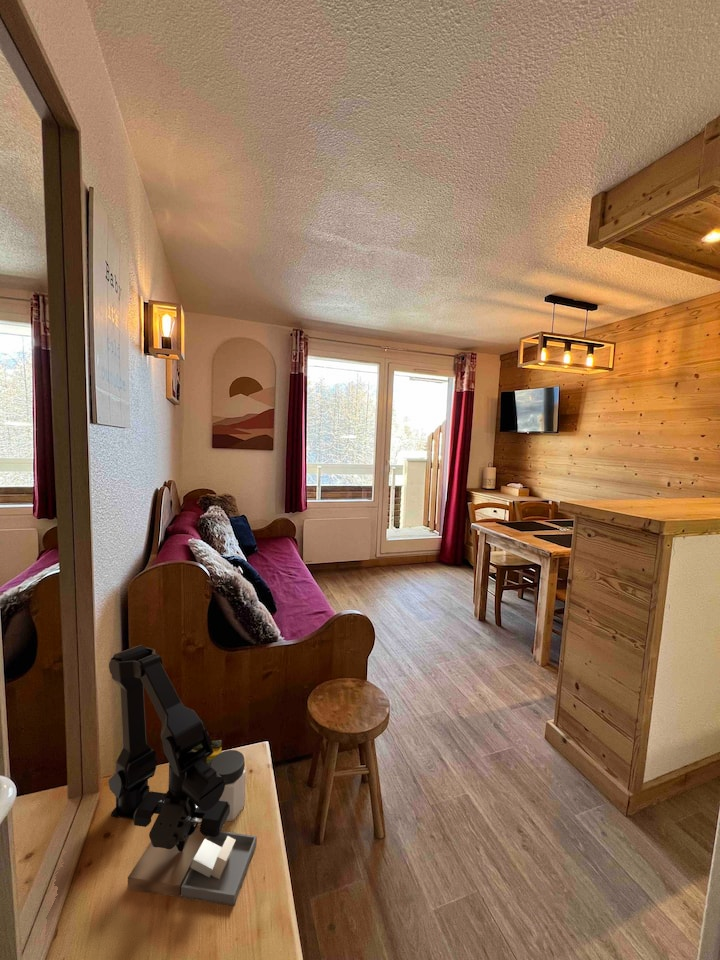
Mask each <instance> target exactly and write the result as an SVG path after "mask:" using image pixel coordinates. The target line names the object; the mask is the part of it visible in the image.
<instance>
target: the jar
mask: <svg viewBox="0 0 720 960" xmlns="http://www.w3.org/2000/svg"><path fill="white" fill-rule="evenodd" d="M245 763H246V762H245V757H244V754H243V753H242V752H241V751H238V750H234V749H229V750H223V751H222V752H221V753H219V754H218V755H217V756H215V757H214V758H213V760H212V761H211V764H210V767H211V768H213V769H214V770H215V771H216V772H217V774H219V775H220V776H221V777H222V778H223V779H224V782H225V788H224V791H223V794H222V796H221V798H220V799H219V801H225V802H229V804H230V813H229V815H228V817H227V819H226V821H225V822H232V821H235V819H236V818H237V816H238V815H239V814H240V813H241V811H242V810H243V808H244V807H245V805H246V780H247V779H246V778H247V770H246V768H245V767H246V765H245Z"/></svg>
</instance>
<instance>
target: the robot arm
mask: <svg viewBox="0 0 720 960" xmlns="http://www.w3.org/2000/svg"><path fill="white" fill-rule="evenodd" d="M108 669H109V673H110V674H111V679H112V681H114V682H115V683H116V684H117V686H119V688H120V701H121V702H120V703H121V720H122V721H121V723H122V724H121V725H122V739H123V741H122V742H123V743H122V744H123V748H122V750H121V752H120V753H119V755H118V758H117V760H116V763H115V767H116V768H115V773H114V774H113V775H112V776H111V777H110V778H109V779H108V786H109V790H110V792H112V793H113V795H114V796H115V808H114V809H113V810H112V811H111V812H110V816H111V817H117V818H122V819H129V820H133V825H134V826H137V827H144V828H147V827H148V826H149V825H150V824H151V823H152V817H153V815H154V814H155V815H156V814H157V817H156V818H155V821H154V823H153V825H152V826H151V829H150V831H149V834H148V837H149V839H150V842H151V843H152V845H153V847H156V848H157V847H160V848H166V849H172V848H173V847H174V846H175V845H176V846H177V849H178V851H181V852H182V851H183V850H184V848H185V845H186V843H187V840H188V838H189V835H192V834H193V833H194V831H195V829H196V828H197V827H200V832H201V833H202V834H203V835H204V836H211V837H216V836H218V835H219V834H220V832H221V831H222V830H223V827H224V825H225V824H226V822H227V821H226V819H227V817H228V815H229V813H230V804H229V802H225V801H219V799H220V798H221V796H222V794H223V791H224V788H225V782H224V779H223V778H222V777H221V776H220V775H219V774H217V772H216V771H215V770H214V769H213V768H211V767H209V766H208V765H207V757H209V756H210V755H212V754H213V750H212V747H211V746H212V744H213V743H212V741H213V740H212V739H211V737H210V734H209V732H208V731H207V727H206V725H205V723H204V722H203V720H201V719H200V717H199V715H198V714H197V713H196V711H195V710H194V709H193V708H190V707H186V706H185V705H184V704H183V702H182V700H181V698H180V696H179V695H178V693H177V691H176V688H175V687H174V685H173V683H172V682H171V679H170V677H169V676H168V674H167V672H166V670H165V669H164V666H163V660H162V657H161V655H160V654H158V653H156V649H155V648H152V647H146V646H145V645H144V644H139V645H136V646H132V647H131V648H127V649H126V650H123V651H122V650H121V651H120V652H117V653H114V654H113V657H111V658H110V661H109V662H108ZM144 689H145V691H146V694H147V696H148V698H149V699H150V702H151V704H152V706H153V708H154V709H155V712H156V714H157V717H158V718H159V721H160V723H161V731H160V739H161V742H162V750H163V753H164V756H166V759H167V761H168V790H167V791H166V792H158V791H153V790H152V791H150V785H149V779H151V778H153V777H154V776H155V773H156V770H157V769H156V768H157V766H158V759H157V758H158V757H157V752H156V750H155V749H153V748H152V747H151V746H150V745H149V744H148V743H147V730H146V729H147V728H146V727H147V726H146V709H145V706H146V705H145V694H144V693H145V691H144ZM200 744H202V745H201V746H202V748H201V749H199V750H198V751H196V752H195V751H194V750H193V749H194V748H196V747H197V746H199V745H200ZM199 824H200V826H199Z"/></svg>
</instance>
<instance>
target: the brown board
mask: <svg viewBox="0 0 720 960" xmlns="http://www.w3.org/2000/svg"><path fill="white" fill-rule="evenodd" d="M206 837H207V836H204V835H203V834H202V833H201V832H200V826H197V828H196V829H195V831H194V833H193V834H192V835H189V838H188V840H187V843H186V845H185V848H184V850H183V851H182V852H181V851H178V849H177V846H176V845H175V846H174V847H173V848H172V849H166V848H160V847H157V848H156V847H153V845H152V843H151V841H150V842H149V844H148V845H147V847H146V849H145V850H144V851H143V853H142V854H141V856H140V858H139V860H138V861H137V862H136V864H135V865H134V867H133V869H132V870H131V871H130V873H129V875H127V890H132V891H133V890H134V891H138V892H146V893H151V894H158V895H163V896H171V897H177V898H181V886H182V884H183V882H184V880H185V878H186V876H187V874H188V872H189V870H190V869H191V868H190V867H191V864H192V861H193V859H194V857H195V855H196V853H197V852H198V850H199V848H200V846H201V844H202V843H203V841H204V839H206Z"/></svg>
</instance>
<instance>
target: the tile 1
mask: <svg viewBox="0 0 720 960" xmlns="http://www.w3.org/2000/svg"><path fill="white" fill-rule="evenodd" d="M221 848H222V847H220V846H218V845H216V844H214V843H213V842H211V841H209V840H207V839H204V841H203V843H202V844H201V846H200V848H199V850H198V852H197V853H196V855H195V857H194V859H193V861H192V864H191V867H190V868H192V869H194V870H196V871H198V872H200V873H202V874H204V875H206V876H207V877H209V878H210V876H211V873H212V870H213V868H214V865H215V862H216V859H217V856H218V854H219V852H220V850H221Z"/></svg>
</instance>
